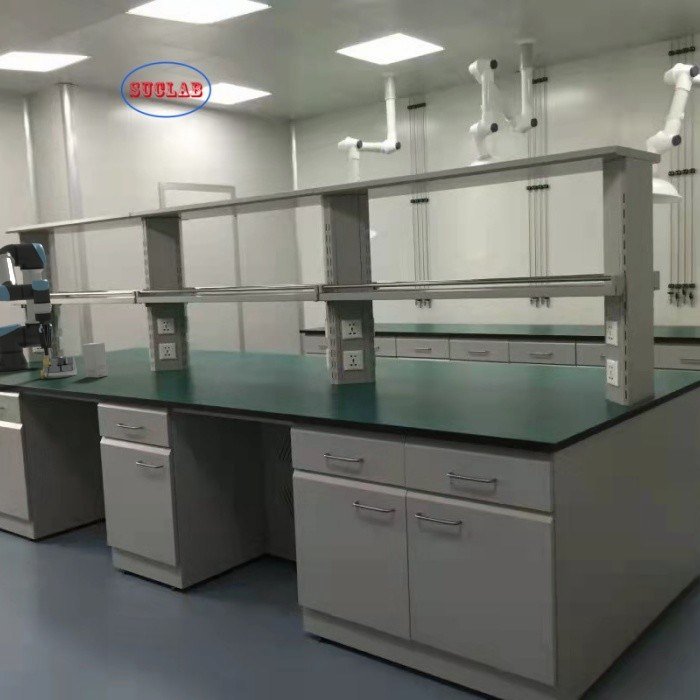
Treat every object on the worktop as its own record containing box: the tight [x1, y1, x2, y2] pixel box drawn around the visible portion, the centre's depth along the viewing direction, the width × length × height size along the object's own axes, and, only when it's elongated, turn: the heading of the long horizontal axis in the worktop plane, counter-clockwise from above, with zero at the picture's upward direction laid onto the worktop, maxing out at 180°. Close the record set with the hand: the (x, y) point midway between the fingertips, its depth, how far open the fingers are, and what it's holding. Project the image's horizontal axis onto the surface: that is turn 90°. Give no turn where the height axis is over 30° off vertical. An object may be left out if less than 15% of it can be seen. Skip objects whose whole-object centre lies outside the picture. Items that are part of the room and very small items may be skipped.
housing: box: [44, 355, 78, 379], centre depth 361 cm, size 15×15×9 cm
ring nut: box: [42, 356, 77, 372], centre depth 361 cm, size 14×14×6 cm
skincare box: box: [82, 342, 109, 379], centre depth 352 cm, size 8×7×16 cm
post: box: [40, 369, 46, 380], centre depth 354 cm, size 2×2×4 cm
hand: (48, 361), depth 362 cm, fingers closed
